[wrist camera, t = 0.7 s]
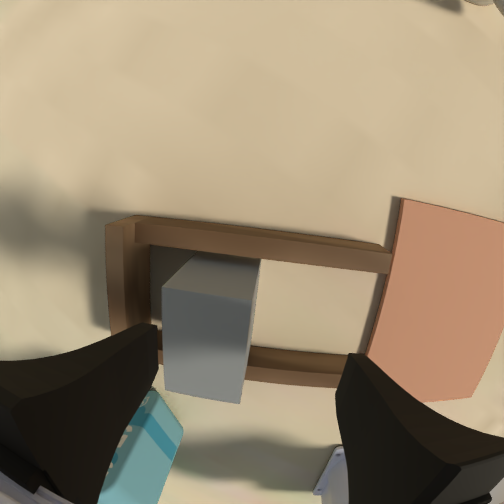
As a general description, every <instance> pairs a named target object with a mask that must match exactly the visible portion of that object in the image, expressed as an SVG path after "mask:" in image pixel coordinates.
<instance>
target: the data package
mask: <svg viewBox="0 0 504 504" xmlns="http://www.w3.org/2000/svg"><path fill="white" fill-rule="evenodd" d="M182 436H183V427H182V426H181V424H180V423H179V422H178V420H177V419H176V417H175V416H174V415H173V413H172V412H171V410H170V409H169V407H168V406H167V404H166V403H165V401H164V400H163V399H162V397H161V396H160V394H159V393H158V392H156V391H148V393H147V395H146V396H145V398H144V400H143V401H142V403H141V405H140V406H139V408H138V410H137V411H136V413H135V414H134V416H133V418H132V419H131V421H130V423H129V424H128V426H127V428H126V429H125V431H124V433H123V435H122V437H121V439H120V442H119V444H118V446H117V449H116V451H115V453H114V456H113V458H112V461H111V464H110V466H109V469H108V472H107V474H106V477H105V480H104V483H103V486H102V489H101V492H100V496H99V500H98V503H97V504H157V503H158V501H159V498H160V495H161V492H162V490H163V487H164V484H165V482H166V479H167V476H168V473H169V471H170V468H171V465H172V463H173V460H174V457H175V454H176V452H177V449H178V446H179V444H180V441H181V438H182Z"/></svg>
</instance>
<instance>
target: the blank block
mask: <svg viewBox="0 0 504 504" xmlns="http://www.w3.org/2000/svg"><path fill="white" fill-rule="evenodd" d="M260 265H261V259H260V258H252V257H244V256H236V255H228V254H221V253H213V252H205V251H198V252H197V253H196V254H195V255H193V256H192V257H191V258H190V259H189V260H188V261H187V262H186V263H185V264H184V265H183V266H182V267H181V268H180V269H179V270H178V271H177V272H176V273H175V274H174V275H173V276H172V277H171V278H170V279H169V280H168V281H167V282H166V283H165V284H164V285H163V286H162V341H163V364H164V381H165V390H167V391H171V392H176V393H180V394H185V395H190V396H195V397H200V398H205V399H211V400H217V401H223V402H229V403H236V404H240V400H241V395H242V389H243V384H244V378H245V373H246V367H247V361H248V356H249V350H250V344H251V339H252V331H253V323H254V315H255V307H256V299H257V290H258V282H259V274H260Z"/></svg>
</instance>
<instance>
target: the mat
mask: <svg viewBox="0 0 504 504" xmlns="http://www.w3.org/2000/svg"><path fill="white" fill-rule="evenodd" d="M503 327H504V223H502V222H498V221H495V220H491V219H487V218H484V217H480V216H476V215H472V214H468V213H464V212H460V211H456V210H452V209H448V208H444V207H439V206H435V205H430V204H426V203H421V202H417V201H412V200H407V199H402V198H401V203H400V210H399V216H398V222H397V228H396V233H395V239H394V244H393V249H392V259H391V264H390V268H389V273H388V274H387V277H386V281H385V285H384V289H383V293H382V297H381V301H380V305H379V309H378V312H377V316H376V320H375V323H374V327H373V330H372V333H371V337H370V340H369V343H368V346H367V350H366V353H365V355H366V356H367V357H368V358H370V359H371V360H372V361H373V362H374V363H375V364H376V365H377V366H378V367H380V368H381V369H382V370H383V371H384V372H385V373H386V374H387V375H388V376H389V377H390V378H391V379H393V380H394V381H395V382H396V383H397V384H398V385H399V386H401V387H402V388H403V389H404V390H405V391H407V392H408V393H409V394H411V395H412V396H413V397H414V398H416V399H417V400H418V401H420V402H434V401H445V400H454V399H462V398H470V397H472V395H473V393H474V391H475V389H476V387H477V385H478V384H479V382H480V380H481V378H482V376H483V374H484V372H485V369H486V367H487V365H488V363H489V361H490V359H491V357H492V354H493V352H494V350H495V347H496V345H497V343H498V340H499V338H500V335H501V333H502V330H503Z"/></svg>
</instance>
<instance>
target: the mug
mask: <svg viewBox="0 0 504 504" xmlns="http://www.w3.org/2000/svg"><path fill="white" fill-rule="evenodd" d="M466 1H468V2H470V3H473V4H476V5H480V6H487V5H491V4H493V3H495V5H496V7H497V8H498V10H499V11H500V12H501V14H502V15H503V16H504V0H466Z"/></svg>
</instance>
